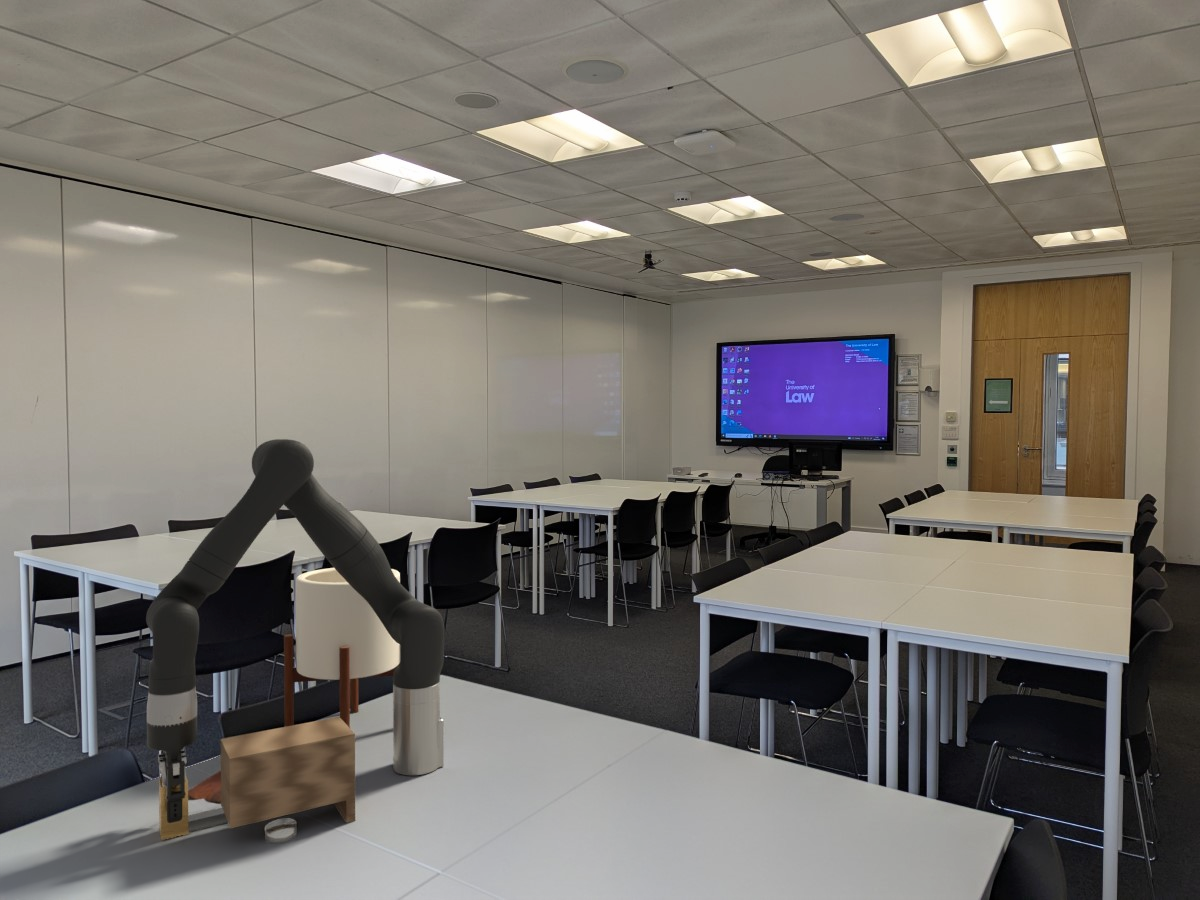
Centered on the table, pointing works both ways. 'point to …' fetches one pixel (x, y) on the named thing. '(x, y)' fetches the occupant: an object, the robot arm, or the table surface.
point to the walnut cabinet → (288, 771)
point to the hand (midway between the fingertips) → (172, 810)
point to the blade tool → (185, 816)
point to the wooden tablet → (207, 789)
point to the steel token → (280, 830)
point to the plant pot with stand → (335, 640)
